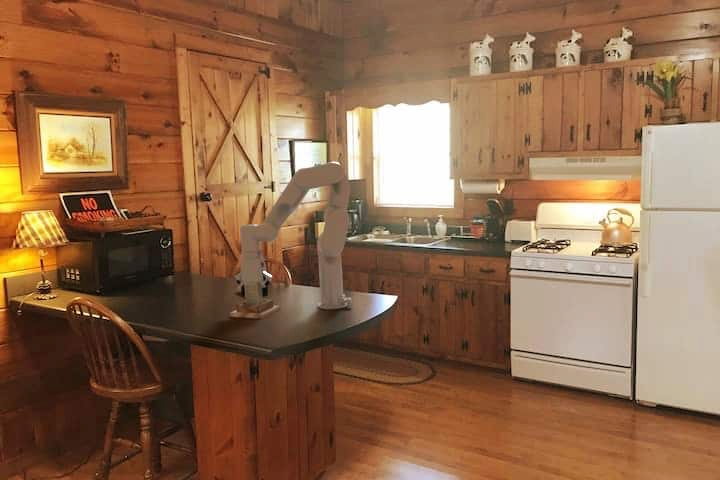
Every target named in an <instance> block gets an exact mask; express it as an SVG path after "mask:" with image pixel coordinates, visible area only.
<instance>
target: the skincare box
mask: <svg viewBox="0 0 720 480" xmlns="http://www.w3.org/2000/svg"><path fill="white" fill-rule="evenodd" d="M244 287H245V296H244V298H245V301H246V305H260V304H262V303H264V299H263V297H262V287H263V286H262V285H261V284H260V283H257V282H252V281H248V282H247V281H244Z"/></svg>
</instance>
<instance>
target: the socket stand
mask: <svg viewBox="0 0 720 480" xmlns="http://www.w3.org/2000/svg"><path fill="white" fill-rule="evenodd" d="M235 306H236V310H233V311H231V312H229V317H231V318H247V319H264V318H266V317H268V316H270V315H272V314H274V313H277V312H278V311H281V305H274V299H266V298H265V299H264V303H262V304H260V305H246V300H244V301H241V302H239V303H237V304H236V305H235Z"/></svg>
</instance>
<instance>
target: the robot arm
mask: <svg viewBox="0 0 720 480" xmlns="http://www.w3.org/2000/svg"><path fill="white" fill-rule="evenodd" d="M325 186H328V187H329V192H328V199H327V203H326V206H325V210H324V214H323V222H324V227H323V232H321V234H320V235H318V238H317V240H316V249H317V257H318V259H317V260H318V269H319V270H318V274H319V275H318V276H319V289H320V290H319V294H320V302H318V303H317V305H316V306H317V308H319V309H320V310H321V309H322V310H338V309H343V308H346V307H347V306H348V304H352V303H353V299H352V297H346V294H345V293H344V286H343V266H342V265H343V263H342V262H343V261H342V252H343V249H344V248H345V244H346V238H347V235H348V230H349V227H350V215H349V213H348V207H349V200H350V196H351V195H350V194H351V184H350V181H349V178H348V176H347V173H346V172H345V170H344V167H343V165H342V164H340V163H339V162H337V161H328V162H326V163H323V164H319V165H314V166H311V167H310V166H309V167H305V168H302V167H301V168H300V169H298V170H297V171H295V173H294V174H293V176H292V177H291V179H290V181H289V182H288V183H287V184H286V187H284V190H283V191H282V192H281V194H280V195H279V196H278V198H277V199H276V201H275V203H274V205H273V207H272V208H271V210H270V211H269V212H268V214H267V215H266V217H265V218H264V220H263V221H262V223H261V224H255V223H253V224H252V223H251V224H250V223H249V224H248V223H247V224H243V225H241V226H240V228H239V231H240V233H239V234H240V242H241V244H240V245H241V256H242V258H241V259H240V272H238V273H237V274H235V275H234V279H235V280H236V283H237V284H238V285H240V287H241V293H240V294H241V296H242V297H245V287H244V281H247V282H248V281H252V282H257V283H260V284H261V285H262V297H265V298H266V297H268V295H269V289H268V287H269V286H270V285H271V283H272V280H273V279H274V278H273V276H272V275H271V274H270V273H268V272H267V267H266V262H265V259H264V257H263V256H264V252H263V251H262V250H261V242H262V243H265V242H266V243H271V242H274V241H275V240H277V239H278V236H279V231H280V230H281V228H282V227H283V225H284V224H285V222H286V220H287V219H288V218H289V217H290V216H291V215H292V214H293V213H295V212H296V210H297V209H298V208H299V206H300V205H301V203H302V202H303V200H304V199H305V197H306V196H307V194H308V192H309V191H311V190H313V189H317V188H322V187H325Z"/></svg>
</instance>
